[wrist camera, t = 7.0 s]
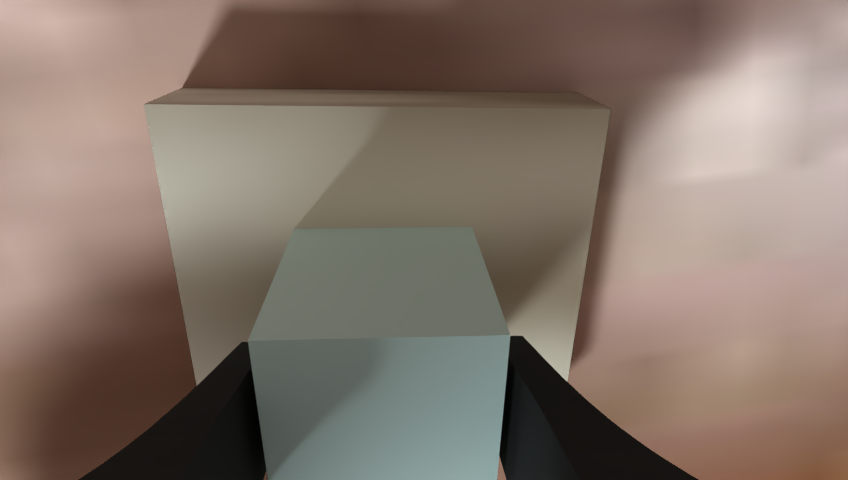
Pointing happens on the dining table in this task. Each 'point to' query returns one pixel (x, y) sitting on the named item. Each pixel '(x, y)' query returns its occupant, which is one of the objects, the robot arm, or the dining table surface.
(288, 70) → the dining table surface
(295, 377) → the mint block
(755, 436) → the dining table surface
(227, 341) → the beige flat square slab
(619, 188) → the dining table surface
